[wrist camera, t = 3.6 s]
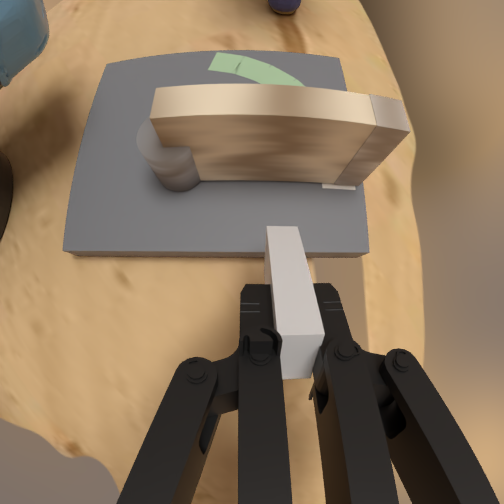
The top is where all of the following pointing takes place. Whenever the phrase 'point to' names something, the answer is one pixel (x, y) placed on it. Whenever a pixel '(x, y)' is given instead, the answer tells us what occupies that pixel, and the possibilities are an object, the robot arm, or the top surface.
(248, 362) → the robot arm
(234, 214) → the board
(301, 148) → the wooden block
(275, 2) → the rubber mallet
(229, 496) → the top surface
